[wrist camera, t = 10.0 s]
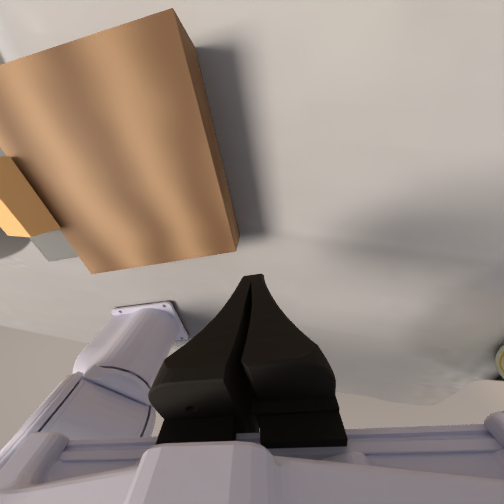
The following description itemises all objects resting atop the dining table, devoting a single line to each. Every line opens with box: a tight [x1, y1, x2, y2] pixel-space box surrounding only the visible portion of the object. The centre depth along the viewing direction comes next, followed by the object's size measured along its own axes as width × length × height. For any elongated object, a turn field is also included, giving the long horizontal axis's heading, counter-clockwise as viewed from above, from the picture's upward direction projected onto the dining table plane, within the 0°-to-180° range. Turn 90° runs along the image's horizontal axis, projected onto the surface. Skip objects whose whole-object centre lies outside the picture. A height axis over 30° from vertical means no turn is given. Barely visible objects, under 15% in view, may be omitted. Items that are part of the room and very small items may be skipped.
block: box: [0, 156, 60, 237], centre depth 17 cm, size 9×6×2 cm, turn 101°
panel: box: [0, 8, 240, 274], centre depth 17 cm, size 16×16×4 cm
